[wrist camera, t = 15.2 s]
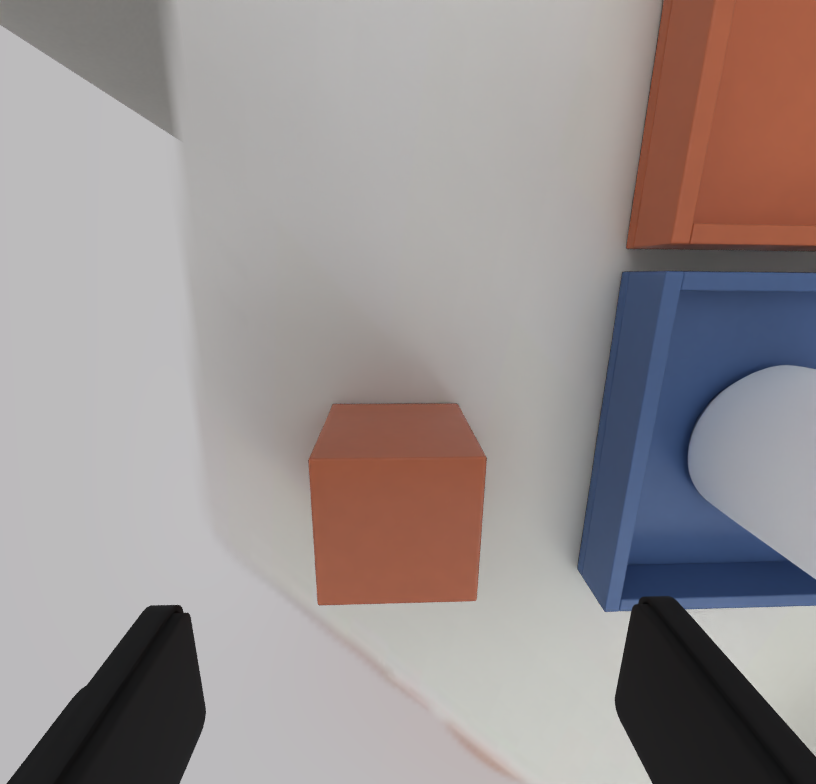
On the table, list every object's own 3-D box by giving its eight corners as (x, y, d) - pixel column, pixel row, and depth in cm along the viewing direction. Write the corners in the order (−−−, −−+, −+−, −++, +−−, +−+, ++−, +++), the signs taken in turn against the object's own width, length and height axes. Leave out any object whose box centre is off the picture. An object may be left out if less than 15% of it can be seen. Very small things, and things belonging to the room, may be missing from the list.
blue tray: (576, 569, 19) (604, 612, 16) (621, 271, 15) (666, 271, 13) (846, 562, 19) (912, 603, 17) (954, 275, 16) (1057, 275, 13)
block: (337, 514, 17) (317, 606, 12) (332, 403, 16) (307, 459, 11) (453, 512, 17) (477, 601, 13) (458, 402, 16) (487, 457, 11)
